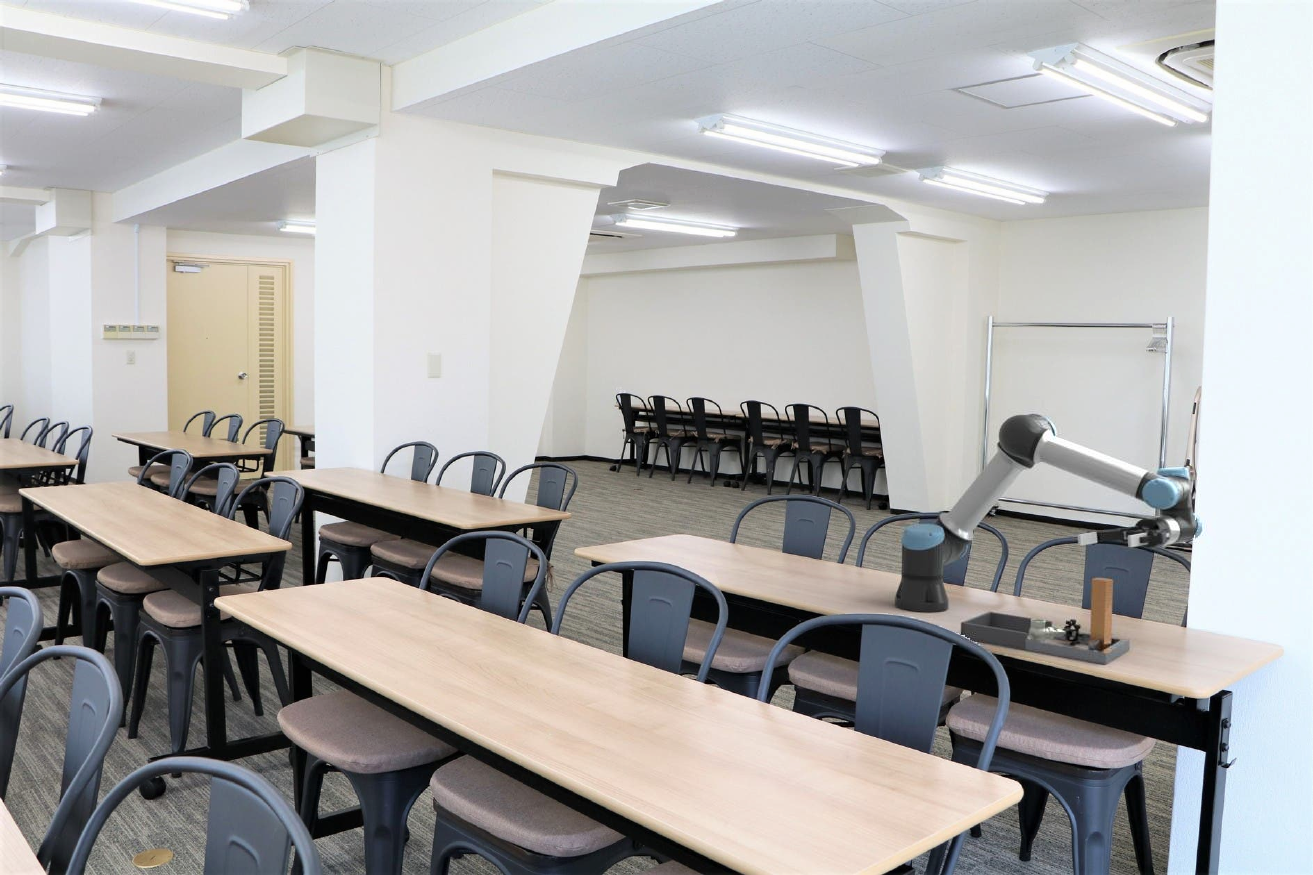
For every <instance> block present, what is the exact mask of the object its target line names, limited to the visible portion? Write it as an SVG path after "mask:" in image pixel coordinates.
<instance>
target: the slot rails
mask: <svg viewBox="0 0 1313 875" xmlns="http://www.w3.org/2000/svg"><path fill="white" fill-rule="evenodd" d="M1052 628H1053V629H1054V630H1056V629H1062V631H1063V630H1064V628H1060V627H1055V626H1054V627H1053V626H1052ZM1079 632H1080V633H1082V637H1081V638H1079V640H1080V644H1084V645H1089V642H1090V632H1085V631H1079ZM1075 637H1076V635H1075V636H1072V638H1073V639H1075ZM1053 639H1054V640H1060V641H1065V642H1067V641H1066V640H1065V636H1064V635H1063V636H1061V637H1056V636H1055V637H1054V638H1053ZM1053 639H1052V640H1053ZM1130 645H1131V640H1130V639H1127V638H1121V637H1114V636H1112V646H1110V647H1108V648H1106V649H1105V650H1103V651H1096V650H1090V649H1089V648H1085V647H1084V648H1083V647H1078V646H1071V645H1065V644H1060V643H1054V642H1048V641H1045V642H1043V641H1038V640H1032V639H1030V638H1027V640H1026V646H1025V650H1024V651H1027V652H1035V653H1040V654H1045V655H1049V656H1057V657H1059V658H1061V657H1062V658H1068V659H1073V660H1077V661H1084V662H1088V663H1089V662H1090V663H1094V664H1098V665H1099V664H1100V665H1106V666H1107V665H1108V664H1109V663H1110V662H1113V661H1114V660H1116V659H1117V658H1119V657H1121V656H1122V655H1124V654H1125V653H1127V652H1129V651H1130V650H1131V649H1130Z"/></svg>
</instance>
